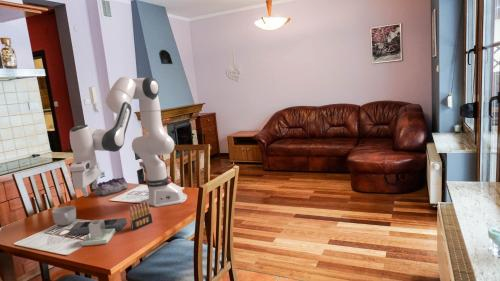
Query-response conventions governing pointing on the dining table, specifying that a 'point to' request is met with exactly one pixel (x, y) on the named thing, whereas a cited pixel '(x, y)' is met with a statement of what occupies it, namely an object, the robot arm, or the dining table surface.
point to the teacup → (64, 215)
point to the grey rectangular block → (97, 230)
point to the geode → (111, 186)
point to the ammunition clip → (140, 216)
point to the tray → (88, 241)
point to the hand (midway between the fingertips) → (90, 192)
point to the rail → (109, 224)
